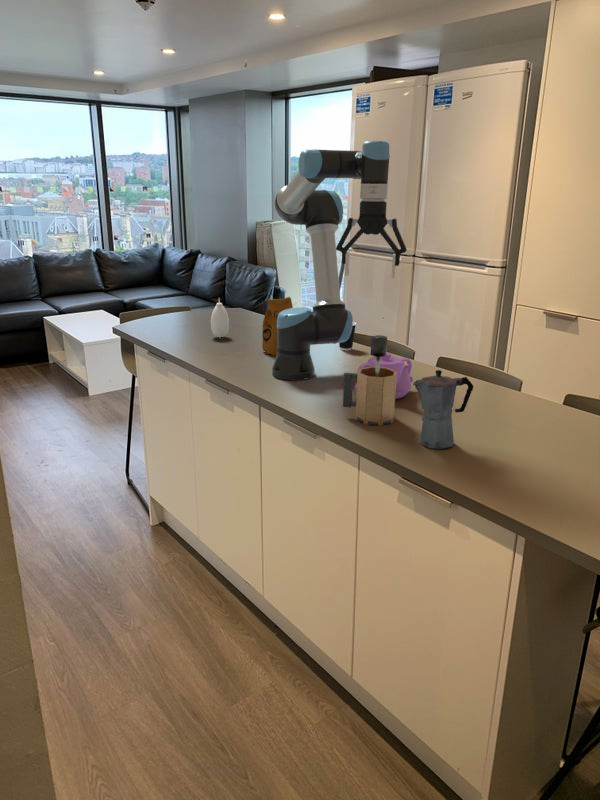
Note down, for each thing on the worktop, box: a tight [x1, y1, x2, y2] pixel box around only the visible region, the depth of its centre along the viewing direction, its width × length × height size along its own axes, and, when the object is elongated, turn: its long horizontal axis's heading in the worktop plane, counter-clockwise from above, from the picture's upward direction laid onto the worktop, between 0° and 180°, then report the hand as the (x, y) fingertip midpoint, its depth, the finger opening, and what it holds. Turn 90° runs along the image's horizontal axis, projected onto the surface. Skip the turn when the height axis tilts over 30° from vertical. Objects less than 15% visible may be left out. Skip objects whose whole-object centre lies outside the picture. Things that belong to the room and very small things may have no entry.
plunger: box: [370, 334, 388, 377], centre depth 171 cm, size 8×8×18 cm
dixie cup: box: [338, 321, 357, 352], centre depth 249 cm, size 8×8×11 cm
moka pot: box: [412, 369, 474, 450], centre depth 156 cm, size 10×15×20 cm, turn 95°
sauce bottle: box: [210, 297, 230, 338], centre depth 265 cm, size 8×8×18 cm
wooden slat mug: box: [342, 367, 397, 427], centre depth 174 cm, size 15×11×14 cm
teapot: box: [354, 351, 414, 400], centre depth 192 cm, size 22×22×14 cm
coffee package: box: [261, 296, 294, 356], centre depth 242 cm, size 10×12×22 cm
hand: (369, 276), depth 178 cm, fingers open, 13 cm apart
